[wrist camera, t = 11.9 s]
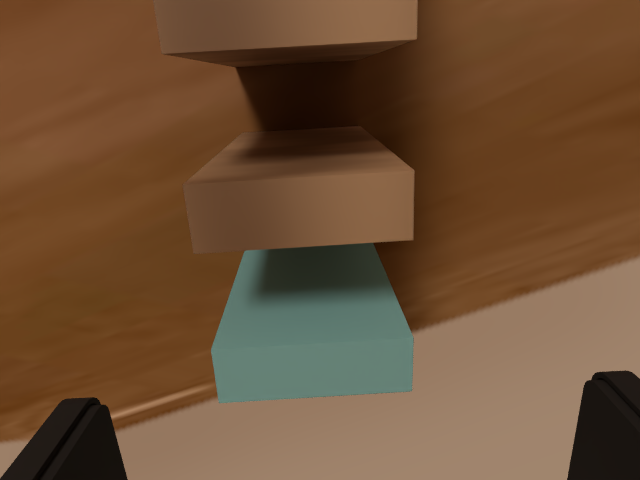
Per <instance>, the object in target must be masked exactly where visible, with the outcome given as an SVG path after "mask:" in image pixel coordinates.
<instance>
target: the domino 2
mask: <svg viewBox="0 0 640 480" xmlns="http://www.w3.org/2000/svg"><path fill="white" fill-rule="evenodd" d="M183 190H184V197H185V203H186V209H187V215H188V221H189V228H190V234H191V240H192V246H193V252H194V254H200V253H216V252H232V251H248V250H263V249H279V248H295V247H311V246H327V245H343V244H358V243H374V242H390V241H406V240H413V228H414V170H413V169H412V168H411V167H410V166H408V165H407V164H406V163H405V162H404V161H402V160H401V159H400V158H399V157H397V156H396V155H395V154H394V153H393V152H391V151H390V150H389V149H388V148H387V147H385V146H384V145H383V144H382V143H380V142H379V141H378V140H377V139H376V138H374V137H373V136H372V135H371V134H370V133H368V132H367V131H366V130H365V129H363V128H362V127H361V126H347V127H330V128H313V129H297V130H280V131H263V132H246V133H242V134H240V135H239V136H238V137H237V138H236V139H235V140H234V141H232V142H231V143H230V144H229V145H228V146H227V147H225V148H224V149H223V150H222V151H221V152H220V153H219V154H217V155H216V156H215V157H214V158H213V159H212V160H210V161H209V162H208V163H207V164H206V165H205V166H204V167H202V168H201V169H200V170H199V171H198V172H197V173H195V174H194V175H193V176H192V177H191V178H190V179H188V180H187V181H186V182H185V183H184V184H183Z"/></svg>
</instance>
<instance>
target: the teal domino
mask: <svg viewBox="0 0 640 480" xmlns="http://www.w3.org/2000/svg"><path fill="white" fill-rule="evenodd" d="M413 339H414V338H413V335H412V333H411V331H410V328H409V326H408V324H407V321H406V319H405V317H404V314H403V312H402V310H401V307H400V305H399V303H398V300H397V298H396V296H395V293H394V291H393V289H392V286H391V284H390V282H389V279H388V277H387V274H386V272H385V270H384V267H383V265H382V263H381V260H380V258H379V256H378V253H377V251H376V249H375V246H374V244H373V243H358V244H343V245H327V246H311V247H295V248H279V249H263V250H248V251H244V254H243V257H242V260H241V263H240V266H239V269H238V272H237V275H236V278H235V281H234V284H233V287H232V290H231V293H230V296H229V299H228V302H227V304H226V307H225V310H224V313H223V316H222V319H221V322H220V325H219V328H218V331H217V334H216V337H215V340H214V343H213V346H212V349H211V352H212V359H213V366H214V373H215V379H216V386H217V393H218V400H219V403H228V402H244V401H261V400H276V399H294V398H309V397H326V396H342V395H358V394H375V393H390V392H391V393H392V392H408V391H412V376H413V375H412V374H413V341H414V340H413Z"/></svg>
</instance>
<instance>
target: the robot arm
mask: <svg viewBox="0 0 640 480" xmlns="http://www.w3.org/2000/svg"><path fill="white" fill-rule="evenodd" d="M0 480H128V479H127V476H126V472H125V468H124V464H123V461H122V457H121V453H120V450H119V446H118V442H117V438H116V435H115V431H114V427H113V423H112V420H111V416H110V412H109V409H108V407H107V406H106V405H101V404H100V401H99V400H98V399H97V398H94V397H92V398H72V399H65V400H62V401H61V402H60V403H59V404H58V406H57V407H56V408H55V409H54V411H53V412H52V413H51V415H50V416H49V417H48V418H47V420H46V421H45V422H44V423H43V425H42V426H41V427H40V429H39V430H38V431H37V432H36V434H35V435H34V436H33V437H32V439H31V440H30V441H29V443H28V444H27V445H26V446H25V448H24V449H23V450H22V452H21V453H20V454H19V455H18V457H17V458H16V459H15V460H14V462H13V463H12V464H11V466H10V467H9V468H8V470H7V471H6V472H5V473H4V475H3V476H2V477H1V478H0ZM567 480H640V379H639V378H638V377H637V376H636V375H635V374H633V373H632V372H629V371H610V372H597V373H595V374H594V375H593V377H592V380H589V381H587V382H586V383H585V385H584V388H583V395H582V400H581V405H580V411H579V416H578V422H577V428H576V433H575V439H574V444H573V450H572V456H571V461H570V467H569V472H568V478H567Z"/></svg>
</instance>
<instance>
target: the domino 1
mask: <svg viewBox="0 0 640 480" xmlns="http://www.w3.org/2000/svg"><path fill="white" fill-rule="evenodd" d="M153 2H154V9H155V15H156V21H157V27H158V33H159V40H160V46H161V52H162V54H165V55H171V56H176V57H182V58H187V59H193V60H198V61H204V62H210V63H215V64H221V65H226V66H232V67H246V66H264V65H281V64H298V63H316V62H333V61H350V60H360V59H363V58H366V57H368V56H371V55H374V54H377V53H380V52H383V51H385V50H388V49H391V48H394V47H397V46H399V45H402V44H405V43H408V42H411V41H413V40H416V39H417V2H418V0H153Z"/></svg>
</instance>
